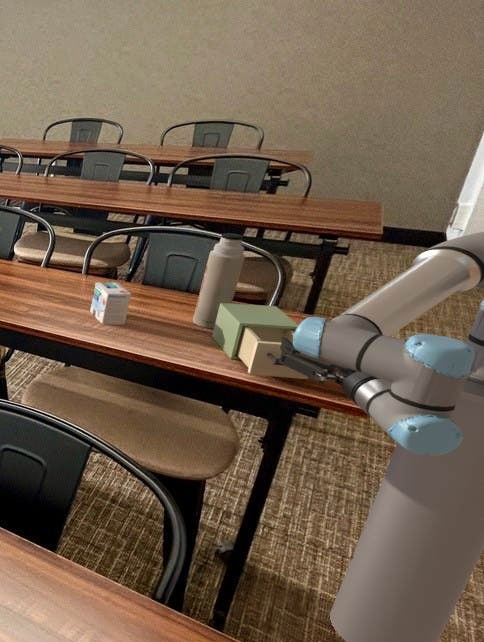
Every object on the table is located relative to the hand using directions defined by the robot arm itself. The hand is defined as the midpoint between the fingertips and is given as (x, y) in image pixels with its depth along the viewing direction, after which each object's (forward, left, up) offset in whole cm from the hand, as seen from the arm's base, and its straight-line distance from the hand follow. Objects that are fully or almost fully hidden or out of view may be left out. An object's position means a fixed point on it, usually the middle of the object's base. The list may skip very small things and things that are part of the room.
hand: (322, 346), depth 127 cm
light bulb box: (+48, -28, -15) cm, 57 cm away
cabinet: (+13, -27, -15) cm, 33 cm away
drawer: (+7, -15, -14) cm, 22 cm away
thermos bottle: (+24, -41, -15) cm, 50 cm away
